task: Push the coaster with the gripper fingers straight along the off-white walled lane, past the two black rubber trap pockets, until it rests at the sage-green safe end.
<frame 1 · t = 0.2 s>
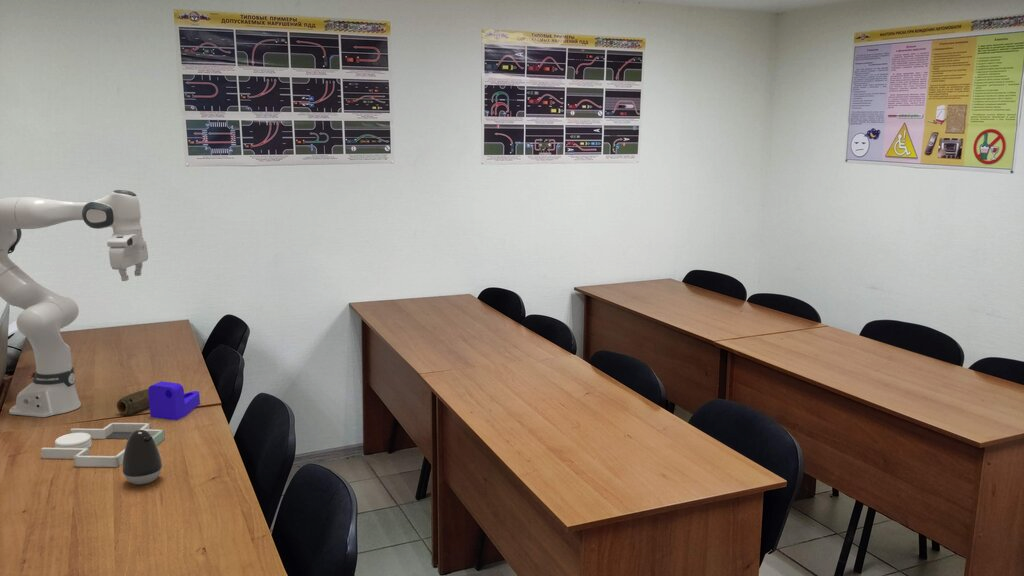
hand: (131, 278, 278), 48 cm above the table, fingers open, 8 cm apart
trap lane: (105, 448, 253), on the table
coaster: (74, 449, 253), on the table
bracket: (181, 410, 287), on the table
brown hollow cylinder: (139, 410, 287), on the table
dark grey egg shape: (143, 481, 230), on the table
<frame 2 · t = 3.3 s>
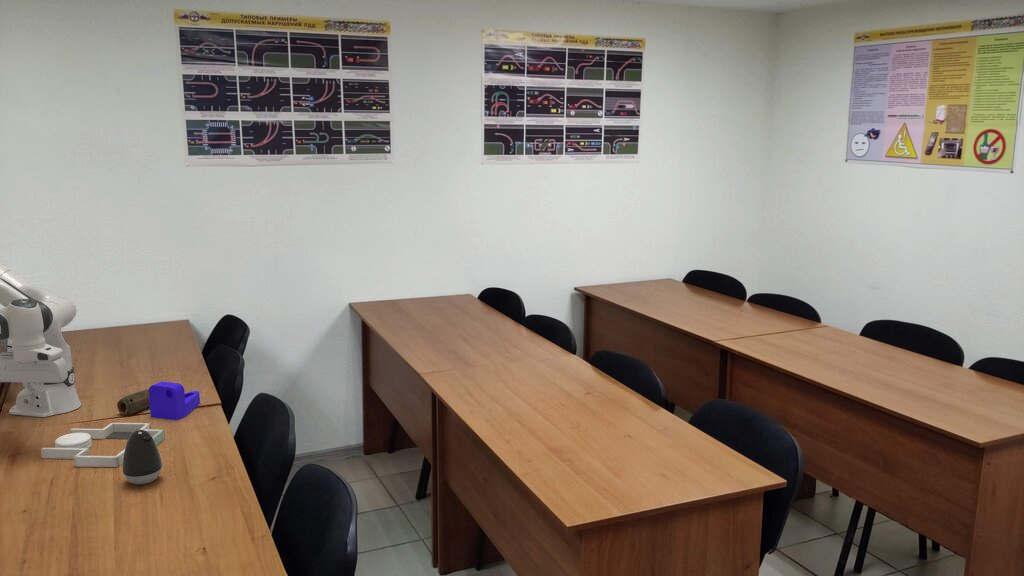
hand: (34, 395, 250), 17 cm above the table, fingers closed
nothing on the table moved.
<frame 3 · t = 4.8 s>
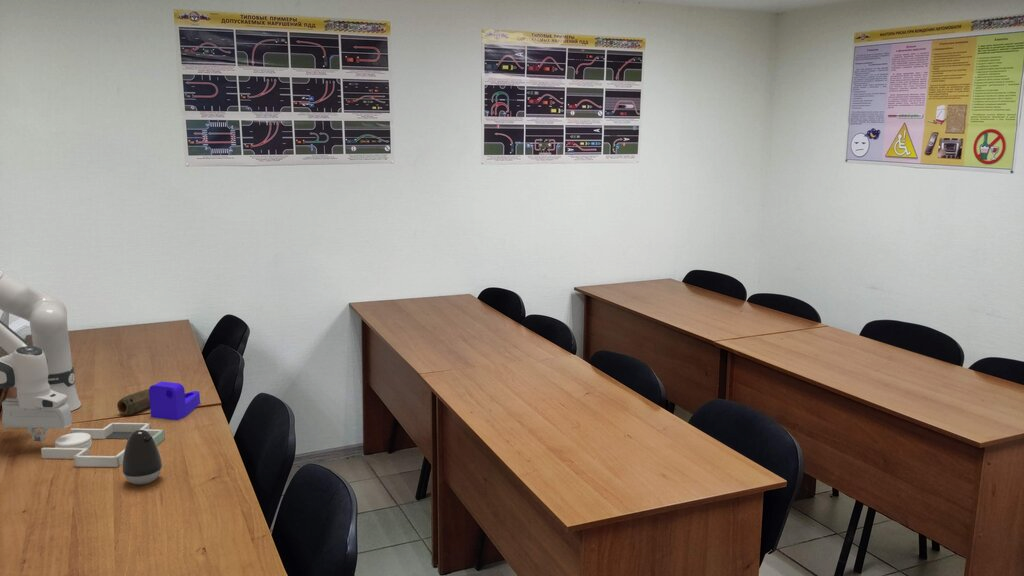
hand: (39, 440, 253), 2 cm above the table, fingers closed
nothing on the table moved.
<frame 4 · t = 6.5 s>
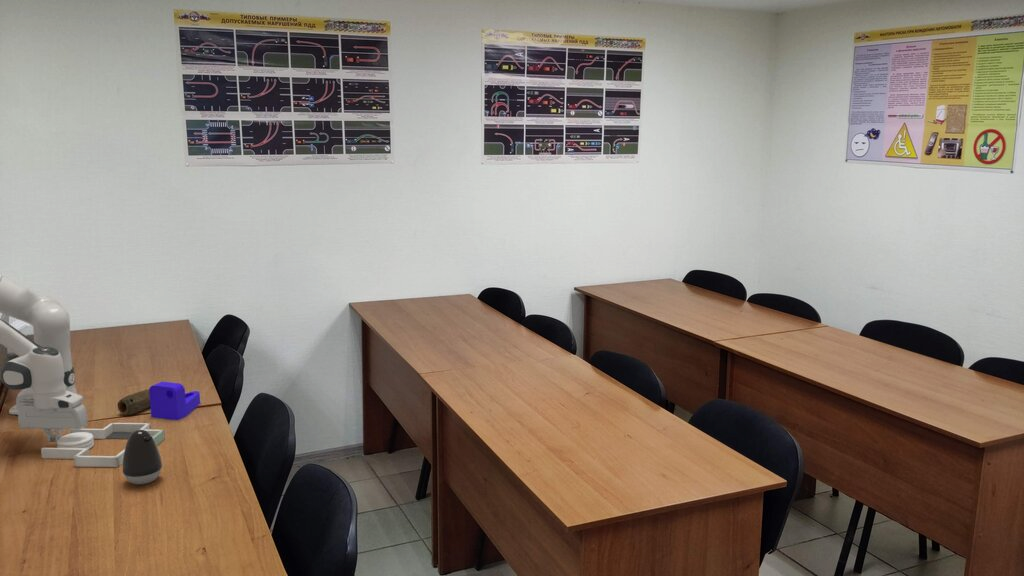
hand: (54, 441, 252), 2 cm above the table, fingers closed
coaster: (76, 448, 253), on the table, touching gripper
everything else where it was.
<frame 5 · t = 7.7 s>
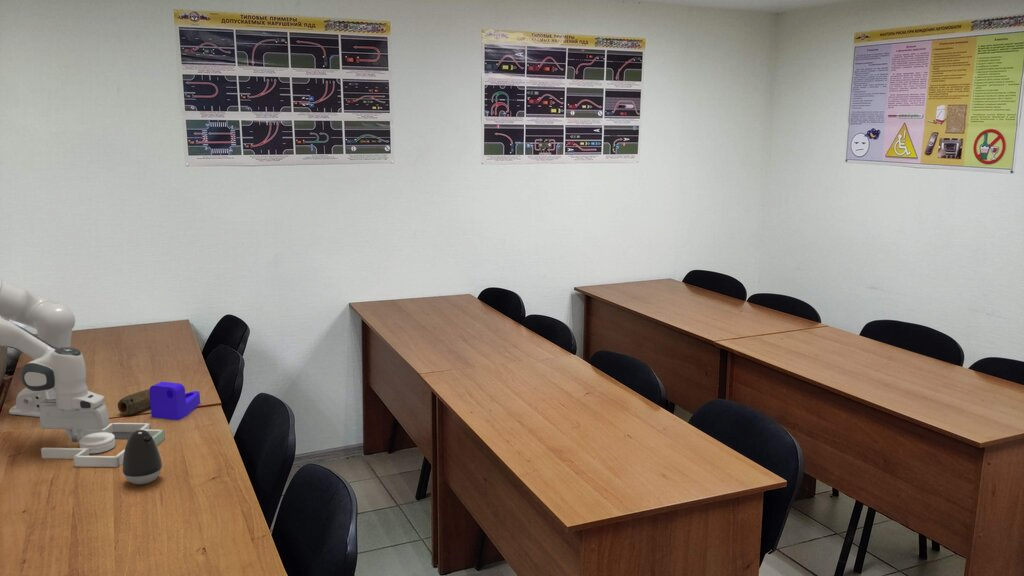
hand: (76, 441, 252), 2 cm above the table, fingers closed
coaster: (97, 448, 253), on the table, touching gripper
everything else where it was.
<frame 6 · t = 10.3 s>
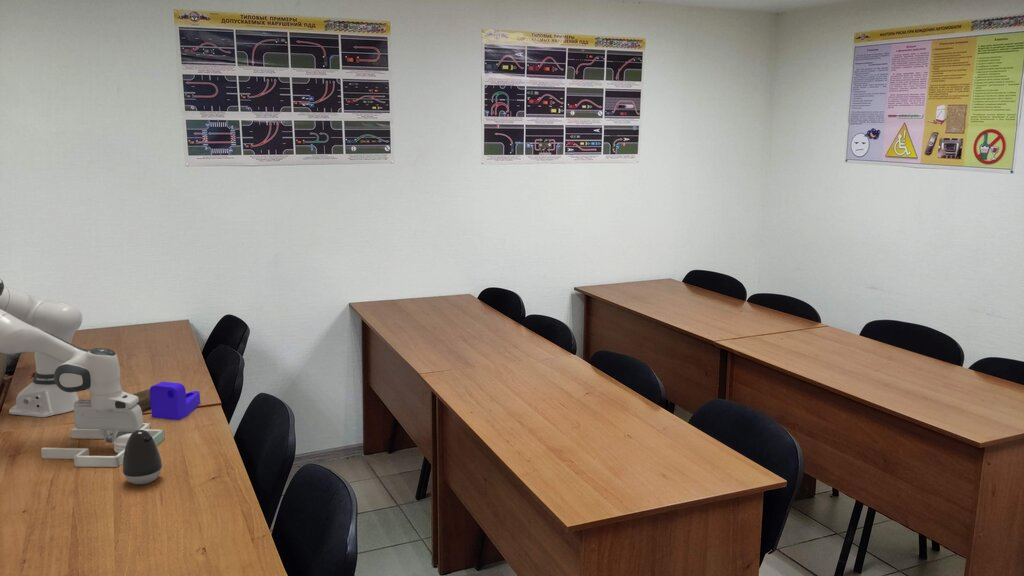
hand: (110, 442, 252), 2 cm above the table, fingers closed
coaster: (131, 449, 253), on the table, touching gripper
everything else where it was.
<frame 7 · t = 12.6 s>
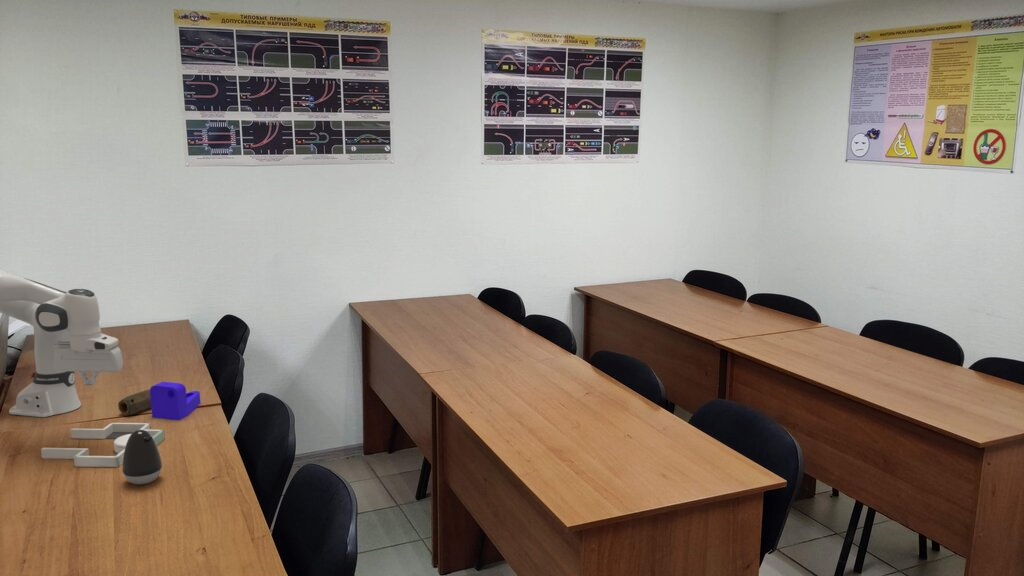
hand: (90, 384, 251), 20 cm above the table, fingers closed
coaster: (132, 449, 253), on the table
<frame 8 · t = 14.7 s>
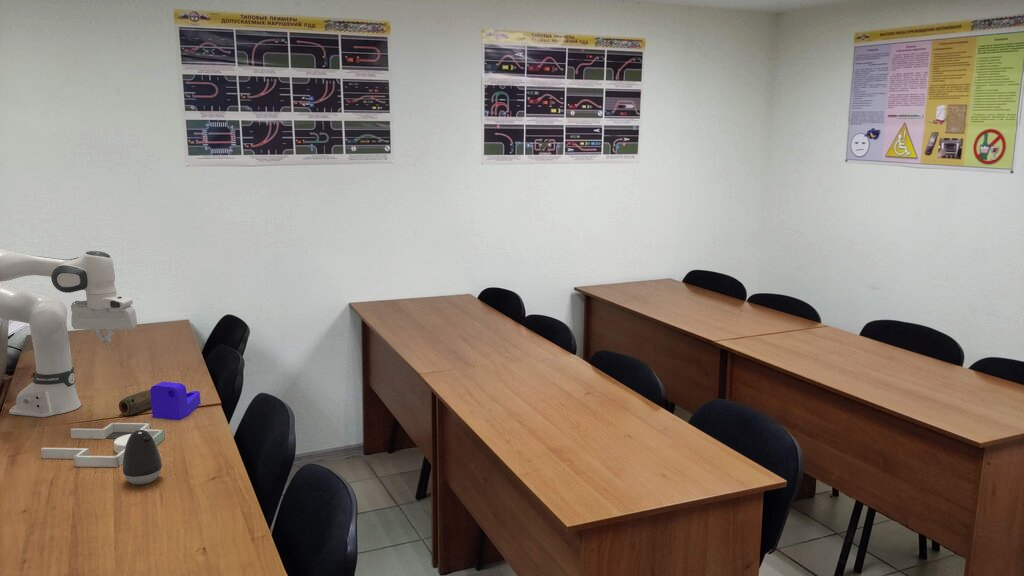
hand: (106, 342, 266), 29 cm above the table, fingers closed
at the end: coaster inside the target area (0.2 cm from its centre), on the table; coaster moved 18.5 cm from its start; coaster tilted 0° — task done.
